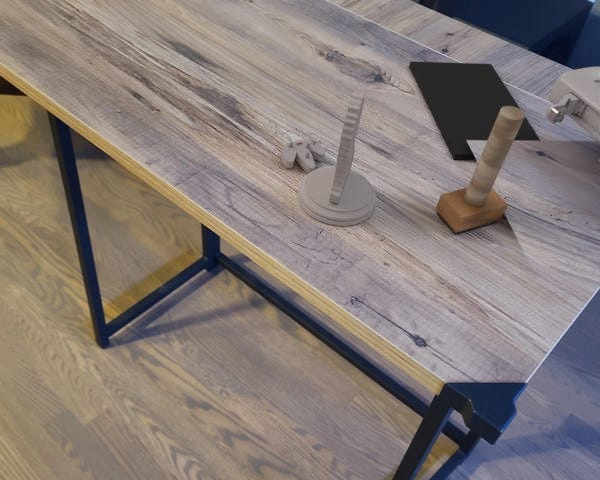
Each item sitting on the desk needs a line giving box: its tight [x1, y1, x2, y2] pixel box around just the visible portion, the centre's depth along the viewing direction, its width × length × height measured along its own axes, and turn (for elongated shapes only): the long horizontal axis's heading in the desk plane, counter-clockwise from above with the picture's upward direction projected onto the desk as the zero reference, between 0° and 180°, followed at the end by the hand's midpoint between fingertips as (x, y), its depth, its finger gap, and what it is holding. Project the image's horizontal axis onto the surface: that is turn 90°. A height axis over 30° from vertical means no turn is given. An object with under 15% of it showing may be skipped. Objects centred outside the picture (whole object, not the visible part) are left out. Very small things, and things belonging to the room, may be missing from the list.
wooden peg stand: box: [435, 106, 526, 235], centre depth 69 cm, size 7×4×15 cm, turn 116°
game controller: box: [270, 119, 326, 174], centre depth 78 cm, size 6×12×3 cm, turn 46°
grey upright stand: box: [296, 90, 378, 227], centre depth 68 cm, size 10×10×15 cm
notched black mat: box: [408, 61, 542, 161], centre depth 90 cm, size 14×24×1 cm, turn 8°
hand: (577, 136), depth 71 cm, fingers open, 8 cm apart
